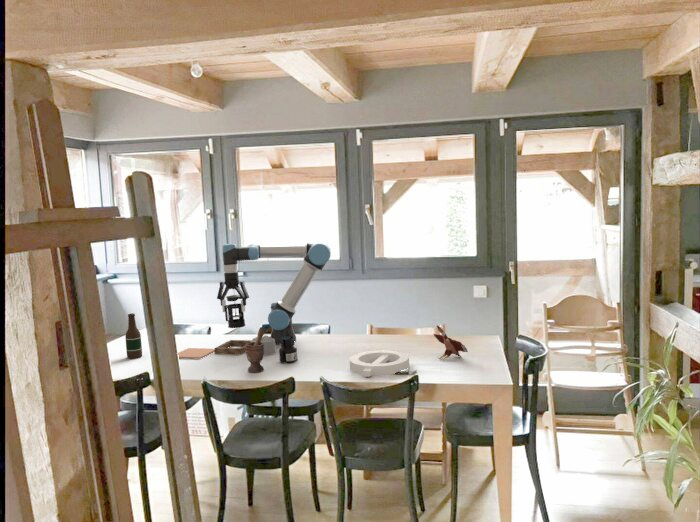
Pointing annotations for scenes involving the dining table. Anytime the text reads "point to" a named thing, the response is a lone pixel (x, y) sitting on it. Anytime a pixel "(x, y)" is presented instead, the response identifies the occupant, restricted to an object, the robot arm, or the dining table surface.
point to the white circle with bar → (378, 362)
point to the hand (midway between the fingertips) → (234, 311)
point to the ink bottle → (288, 350)
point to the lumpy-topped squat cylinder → (267, 344)
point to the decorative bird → (449, 344)
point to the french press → (235, 322)
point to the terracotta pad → (195, 353)
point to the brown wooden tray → (226, 350)
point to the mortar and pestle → (255, 353)
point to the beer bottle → (133, 339)
